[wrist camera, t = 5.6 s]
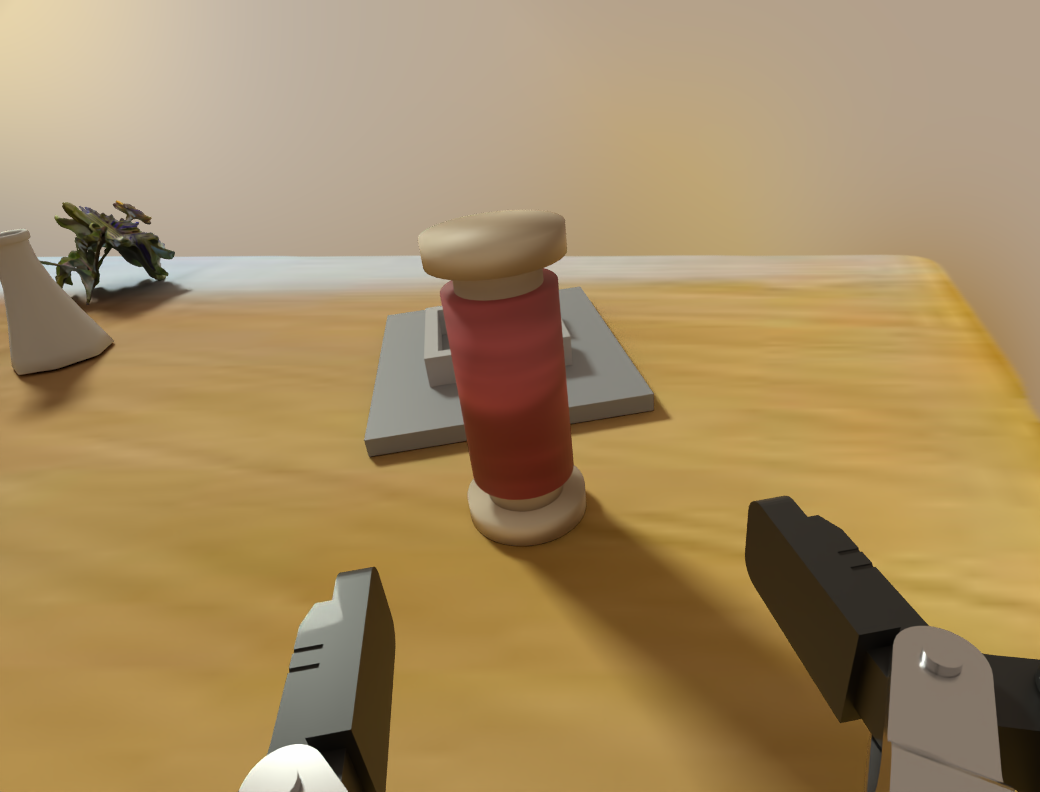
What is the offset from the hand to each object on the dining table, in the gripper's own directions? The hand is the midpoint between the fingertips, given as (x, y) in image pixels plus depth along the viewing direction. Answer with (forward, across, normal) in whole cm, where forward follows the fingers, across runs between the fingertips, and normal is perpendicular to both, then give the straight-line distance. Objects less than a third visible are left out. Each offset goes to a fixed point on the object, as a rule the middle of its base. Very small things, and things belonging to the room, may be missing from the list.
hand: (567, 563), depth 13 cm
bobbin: (+11, 0, +7) cm, 13 cm away
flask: (+40, +34, +7) cm, 53 cm away
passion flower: (+58, +38, +7) cm, 70 cm away
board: (+26, 0, +7) cm, 27 cm away
